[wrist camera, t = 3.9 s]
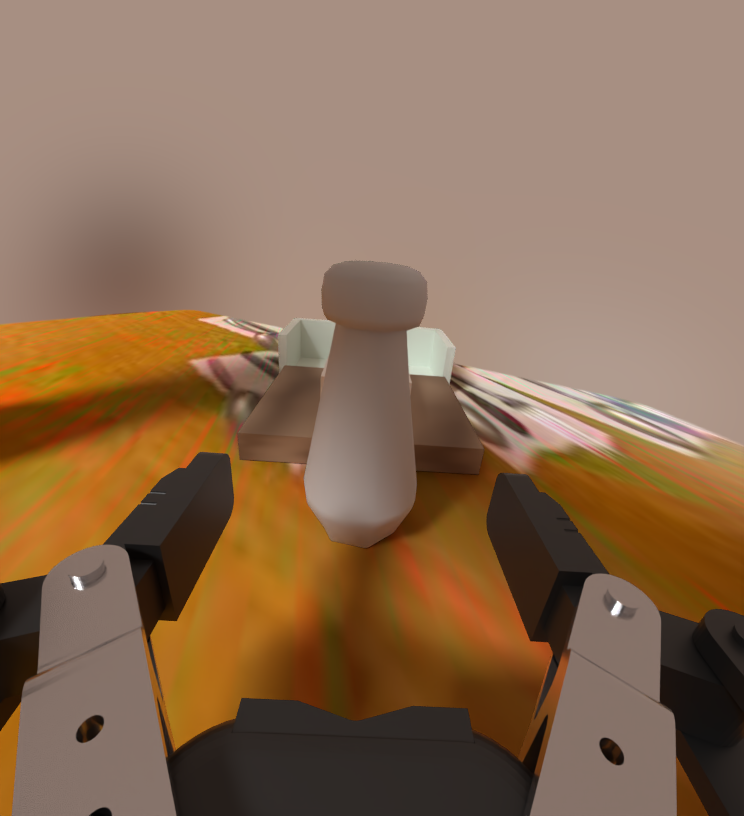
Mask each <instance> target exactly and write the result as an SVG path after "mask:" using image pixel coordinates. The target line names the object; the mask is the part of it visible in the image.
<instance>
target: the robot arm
mask: <svg viewBox="0 0 744 816" xmlns="http://www.w3.org/2000/svg"><path fill="white" fill-rule="evenodd" d="M233 503H234V494H233V484H232V474H231V464H230V458H229V455H228V454H223V453H208V452H200V453H198V454H197V455H196V457H195V458H194V459H193V460H192V462H191V463H190V464H189V465H188V466H187V468H178V469H176V470H175V471H173V472H171V473H170V474H168V475H166V476H165V477H163V478H162V479H161V480H160V481H159V482H158V483H157V484H156V485H155V486H154V488H153V489H152V490H151V492H150V494H147V496H146V497H145V498H144V499H143V500H142V501H141V504H140V505H138V506H137V507H136V508H135V509H134V510H133V511H132V512H131V514H130V515H129V516H128V517H127V518H126V519H125V520H124V521H123V523H122V524H121V525H120V526H119V527H118V528H117V529H116V530H115V532H114V533H113V534H112V535H111V536H110V537H109V538H108V539H107V541H106V542H105V543H104V544H103V545H99V546H93V547H90V548H86V549H84V550H81V551H79V552H76V553H74V554H72V555H71V556H69V557H67V558H65V559H64V560H63V561H61V562H60V563H58V564H57V565H56V566H55V567H54V568H53V569H52V570H51V571H50V572H49V573H48V575H44V576H39V577H33V578H28V579H23V580H17V581H12V582H7V583H1V584H0V731H1V729H2V728H3V726H4V725H5V724H6V722H7V721H8V719H9V718H10V717H11V715H12V714H13V712H14V711H15V709H16V708H17V707H18V705H19V704H20V702H21V711H20V724H19V736H18V748H17V760H16V772H15V784H14V796H13V808H12V816H677V798H676V756H677V758H678V760H679V761H680V763H681V765H682V767H683V769H684V771H685V772H686V774H687V776H688V778H689V780H690V782H691V783H692V785H693V787H694V789H695V791H696V793H697V794H698V796H699V798H700V800H701V802H702V804H703V805H704V807H705V809H706V811H707V813H708V815H709V816H744V616H742V615H740V614H737V613H735V612H731V611H728V610H722V609H713V610H710V611H708V612H707V613H706V614H705V616H704V617H703V618H702V620H701V621H700V623H696V622H693V621H690V620H687V619H684V618H680V617H677V616H674V615H671V614H668V613H665V612H662V611H659V610H657V608H656V606H655V605H654V603H653V602H652V601H651V600H650V599H649V598H648V596H646V595H645V594H644V593H643V592H642V591H641V590H639V589H638V588H637V587H635V586H634V585H632V584H631V583H629V582H627V581H625V580H623V579H621V578H618V577H616V576H613V575H609V573H608V572H607V570H606V569H605V567H604V566H603V565H602V563H601V562H600V560H599V559H598V558H597V556H596V555H595V553H594V552H593V551H592V549H591V548H590V546H589V545H588V544H587V542H586V541H585V539H584V538H583V536H582V535H581V534H580V533H578V529H577V528H576V527H575V525H574V524H573V522H572V521H570V518H569V517H568V515H567V514H566V512H565V511H564V510H563V508H562V507H561V505H560V504H558V503H557V502H556V501H555V500H553V499H552V498H551V497H550V496H548V495H547V494H546V493H542V492H539V491H538V490H537V488H536V487H535V485H534V484H533V482H532V480H531V479H530V478H529V476H528V475H526V474H511V473H500V474H499V475H498V477H497V479H496V483H495V487H494V490H493V494H492V498H491V501H490V505H489V509H488V513H487V531H488V535H489V537H490V540H491V542H492V545H493V547H494V550H495V552H496V555H497V558H498V560H499V563H500V565H501V568H502V570H503V573H504V575H505V578H506V580H507V583H508V586H509V588H510V591H511V593H512V596H513V598H514V601H515V603H516V606H517V608H518V611H519V613H520V616H521V619H522V621H523V624H524V626H525V629H526V631H527V634H528V636H529V639H530V641H536V642H549V644H550V647H551V649H552V651H553V653H552V655H551V657H550V659H549V662H548V665H547V669H546V672H545V675H544V679H543V682H542V685H541V689H540V692H539V695H538V699H537V702H536V705H535V708H534V712H533V715H532V718H531V722H530V725H529V728H528V731H527V734H526V737H525V740H524V742H523V745H522V747H521V750H520V753H519V755H518V758H517V757H516V756H514V755H513V754H512V753H511V752H510V751H508V750H507V749H506V748H504V747H503V746H501V745H500V744H499V743H497V742H496V741H494V740H493V739H491V738H489V737H487V736H485V735H483V734H481V733H479V732H477V731H474V730H472V728H471V723H470V718H469V713H468V709H466V708H445V707H423V706H411V707H407V708H404V709H400V710H397V711H393V712H389V713H386V714H382V715H378V716H375V717H371V718H367V719H364V720H359V721H352V720H349V719H346V718H343V717H340V716H338V715H335V714H332V713H330V712H327V711H324V710H322V709H319V708H316V707H314V706H311V705H308V704H306V703H303V702H300V701H294V700H272V699H251V698H242V699H241V702H240V706H239V709H238V713H237V716H236V719H232V720H229V721H226V722H223V723H221V724H218V725H216V726H213V727H211V728H209V729H207V730H206V731H204V732H202V733H200V734H198V735H197V736H195V737H194V738H192V739H191V740H189V741H188V742H186V743H185V744H183V745H182V746H181V747H179V748H178V749H177V750H176V748H175V744H174V740H173V736H172V732H171V728H170V723H169V719H168V715H167V710H166V706H165V701H164V696H163V691H162V687H161V682H160V677H159V672H158V668H157V663H156V658H155V654H154V649H153V644H152V640H151V636H150V634H151V633H152V631H153V629H154V627H155V626H156V624H157V622H158V620H167V621H177V619H178V617H179V615H180V613H181V611H182V610H183V608H184V606H185V604H186V602H187V600H188V598H189V596H190V594H191V592H192V590H193V588H194V586H195V584H196V582H197V580H198V579H199V577H200V575H201V573H202V571H203V569H204V567H205V565H206V563H207V561H208V559H209V557H210V555H211V553H212V551H213V549H214V548H215V546H216V544H217V542H218V540H219V538H220V536H221V534H222V532H223V530H224V528H225V526H226V524H227V522H228V520H229V518H230V516H231V513H232V509H233Z"/></svg>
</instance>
